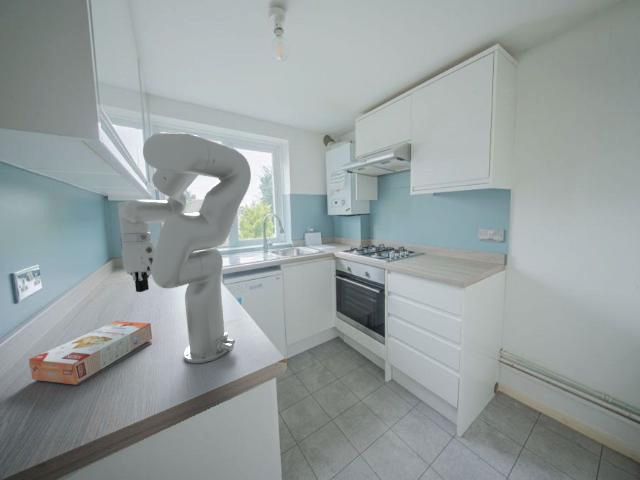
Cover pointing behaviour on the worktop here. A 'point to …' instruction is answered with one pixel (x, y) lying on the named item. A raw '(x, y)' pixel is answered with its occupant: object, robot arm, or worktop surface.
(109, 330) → the cracker box
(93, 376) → the mat
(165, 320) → the worktop surface
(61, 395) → the worktop surface
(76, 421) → the worktop surface
